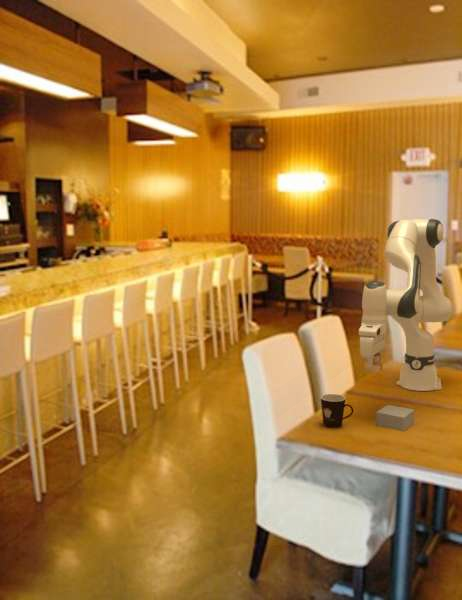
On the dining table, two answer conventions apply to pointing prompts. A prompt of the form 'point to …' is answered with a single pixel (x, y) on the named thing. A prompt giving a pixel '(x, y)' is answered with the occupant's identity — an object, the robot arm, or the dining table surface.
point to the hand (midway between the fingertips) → (373, 364)
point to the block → (395, 417)
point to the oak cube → (377, 364)
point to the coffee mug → (333, 410)
